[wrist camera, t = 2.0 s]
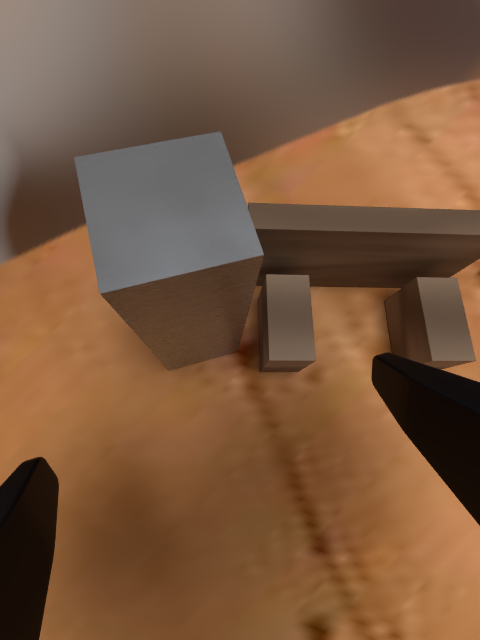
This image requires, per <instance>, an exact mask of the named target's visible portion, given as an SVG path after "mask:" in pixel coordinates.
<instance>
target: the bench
mask: <svg viewBox="0 0 480 640" xmlns="http://www.w3.org/2000/svg"><path fill="white" fill-rule="evenodd" d="M248 211H249V213H250V216H251V219H252V222H253V225H254V228H255V230H256V233H257V236H258V239H259V242H260V245H261V247H262V250H263V253H264V257H263V260H262V264H261V268H260V271H259V275H258V278H257V282H256V285H263V286H262V289H261V292H260V295H259V298H258V314H259V349H260V372H299V371H300V370H302V369H303V368H305V367H307V366H308V365H310V364H311V363H313V362H314V361H316V357H315V344H314V332H313V319H312V307H311V294H310V286H324V287H385V288H401V289H400V290H399V291H397V292H396V293H395V294H393V295H392V296H391V297H389V298H388V299H387V300H385V301H384V303H385V309H386V316H387V322H388V329H389V336H390V342H391V349H392V354H395V355H398V356H401V357H404V358H407V359H410V360H413V361H416V362H419V363H422V364H425V365H428V366H431V367H434V368H437V369H444V368H448V367H453V366H457V365H461V364H465V363H469V362H473V361H476V359H475V355H474V350H473V346H472V341H471V337H470V333H469V328H468V324H467V319H466V315H465V311H464V306H463V302H462V298H461V293H460V289H459V284H458V280H457V278H449V277H451V276H453V275H454V274H456V273H457V272H459V271H461V270H462V269H464V268H465V267H467V266H468V265H470V264H472V263H473V262H475V261H476V260H478V259H480V210H451V209H421V208H390V207H360V206H329V205H299V204H268V203H248Z"/></svg>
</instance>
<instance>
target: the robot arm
mask: <svg viewBox="0 0 480 640" xmlns="http://www.w3.org/2000/svg"><path fill="white" fill-rule="evenodd" d="M372 383H373V385H374V387H375V389H376V390H377V392H378V393H379V395H380V396H381V398H382V399H383V401H384V402H385V404H386V406H387V407H388V409H389V410H390V412H391V413H392V415H393V416H394V418H395V419H396V421H397V422H398V424H399V425H400V427H401V428H402V430H403V431H404V432H405V434H406V435H407V436H408V438H409V439H410V440H411V441H412V443H413V444H414V445H415V446H416V447H417V449H418V450H419V451H420V452H421V454H422V455H423V456H424V457H425V459H426V460H427V461H428V462H429V464H430V465H431V466H432V467H433V469H434V470H435V471H436V472H437V473H438V475H439V476H440V477H441V478H442V480H443V481H444V482H445V483H446V485H447V486H448V487H449V488H450V490H451V491H452V492H453V493H454V494H455V496H456V497H457V498H458V499H459V501H460V502H461V503H462V504H463V506H464V507H465V508H466V509H467V511H468V512H469V513H470V514H471V515H472V517H473V518H474V519H475V520H476V522H477V523H478V524H479V525H480V382H477V381H474V380H471V379H468V378H465V377H462V376H459V375H456V374H453V373H450V372H447V371H444V370H440V369H437V368H434V367H431V366H428V365H425V364H422V363H419V362H416V361H413V360H410V359H407V358H404V357H401V356H398V355H395V354H392V353H383V354H379V355H376V356H375V357H374V358H373V362H372ZM58 492H59V482H58V478H57V476H56V474H55V473H54V471H53V470H52V469H51V467H50V466H49V464H48V463H47V461H46V460H45V459H44V458H43V457H37V458H33V459H30V460H27V461H24V462H23V463H21V464H20V465H19V466H18V468H17V469H16V470H15V471H14V472H13V473H12V474H11V475H10V476H9V477H8V479H7V480H6V481H5V482H4V483H3V484H2V485H1V486H0V640H39V637H40V631H41V625H42V620H43V614H44V608H45V602H46V597H47V591H48V585H49V579H50V574H51V568H52V562H53V556H54V548H55V537H56V522H57V507H58Z"/></svg>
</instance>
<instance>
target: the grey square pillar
mask: <svg viewBox="0 0 480 640" xmlns="http://www.w3.org/2000/svg"><path fill="white" fill-rule="evenodd" d="M74 158H75V164H76V170H77V174H78V180H79V185H80V190H81V196H82V201H83V207H84V212H85V217H86V223H87V228H88V233H89V238H90V244H91V249H92V254H93V260H94V265H95V270H96V276H97V281H98V286H99V291H100V294H101V295H102V297H103V298H104V299H105V300H106V301H107V302H108V303H109V304H110V305H111V306H112V308H113V309H114V310H115V311H116V312H117V313H118V314H119V315H120V316H121V317H122V319H123V320H124V321H125V322H126V323H127V324H128V325H129V326H130V327H131V328H132V330H133V331H134V332H135V333H136V334H137V335H138V336H139V337H140V338H141V339H142V341H143V342H144V343H145V344H146V345H147V346H148V347H149V348H150V349H151V351H152V352H153V353H154V354H155V355H156V356H157V357H158V358H159V359H160V360H161V362H162V363H163V364H164V365H165V366H166V367H167V368H168V369H169V370H173V369H177V368H180V367H184V366H188V365H191V364H195V363H198V362H202V361H205V360H209V359H213V358H216V357H220V356H223V355H227V354H231V353H234V352H237V351H238V348H239V344H240V340H241V337H242V333H243V329H244V326H245V322H246V318H247V315H248V311H249V308H250V304H251V300H252V297H253V293H254V289H255V286H256V282H257V278H258V275H259V271H260V268H261V264H262V260H263V257H264V253H263V250H262V247H261V245H260V242H259V239H258V236H257V233H256V230H255V228H254V225H253V222H252V219H251V216H250V213H249V211H248V208H247V205H246V202H245V199H244V196H243V193H242V191H241V188H240V185H239V182H238V179H237V176H236V174H235V171H234V168H233V165H232V162H231V159H230V157H229V154H228V151H227V148H226V145H225V142H224V139H223V137H222V134H221V132H215V133H209V134H204V135H198V136H192V137H186V138H181V139H175V140H170V141H164V142H158V143H152V144H147V145H142V146H136V147H130V148H124V149H118V150H113V151H107V152H102V153H96V154H90V155H85V156H79V157H74Z"/></svg>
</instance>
